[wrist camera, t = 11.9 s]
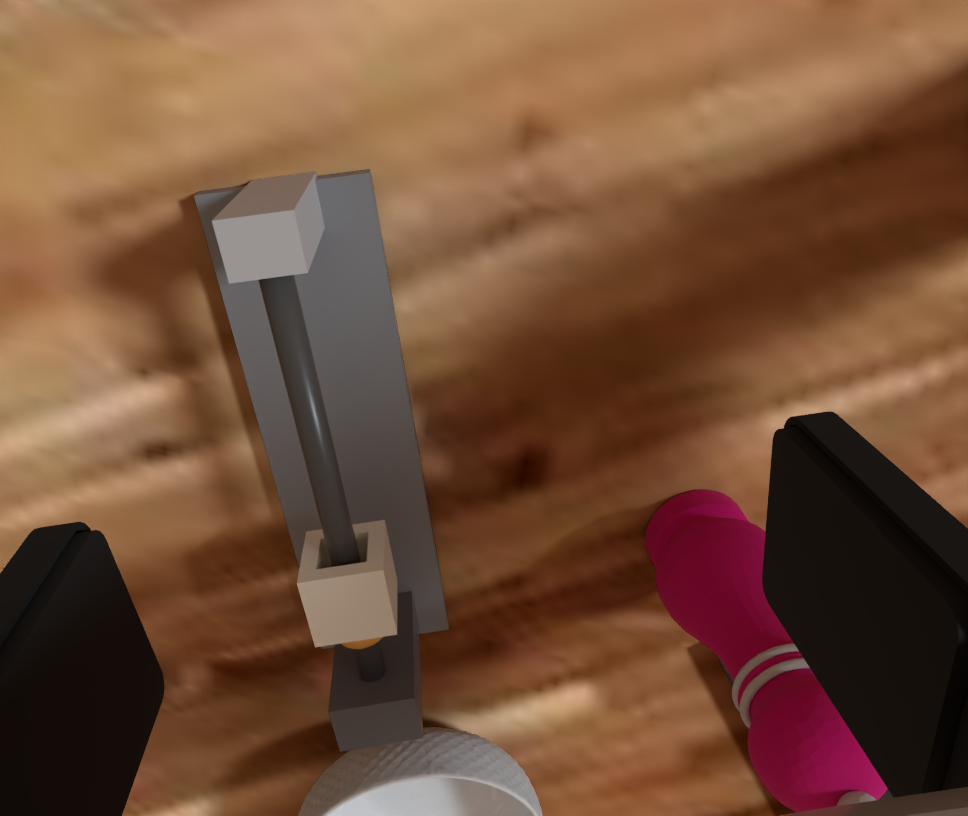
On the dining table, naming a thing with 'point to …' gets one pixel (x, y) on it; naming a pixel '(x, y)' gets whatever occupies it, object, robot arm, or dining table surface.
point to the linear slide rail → (333, 411)
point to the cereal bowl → (424, 780)
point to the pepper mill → (755, 653)
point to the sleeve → (349, 588)
